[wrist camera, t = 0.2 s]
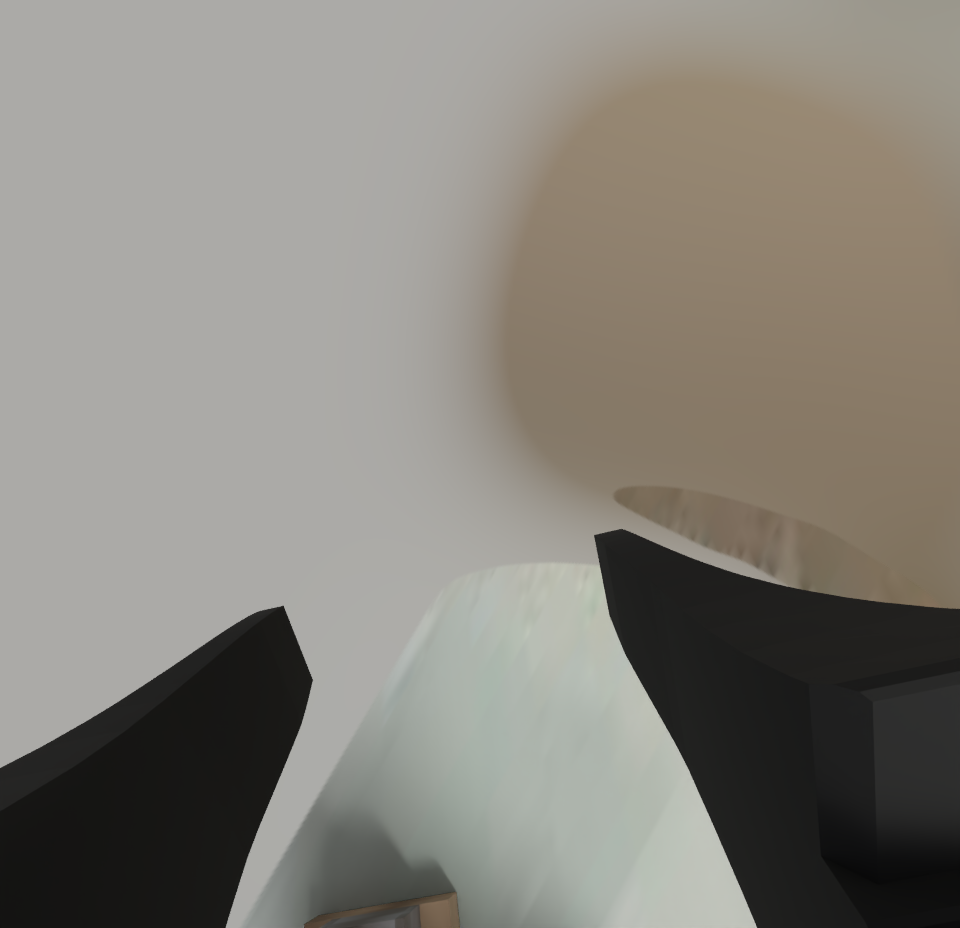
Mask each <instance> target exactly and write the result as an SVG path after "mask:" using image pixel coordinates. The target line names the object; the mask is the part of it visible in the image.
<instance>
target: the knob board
mask: <svg viewBox="0 0 960 928" xmlns="http://www.w3.org/2000/svg"><path fill="white" fill-rule="evenodd" d="M304 928H460V923H459V914H458V904H457V894H456V892H452V893H446V894H440V895H434V896H429V897H423V898H417V899H411V900H406V901H400V902H394V903H388V904H383V905H377V906H371V907H365V908H360V909H354V910H348V911H342V912H337V913H331V914H325V915H319V916H317V917H316V918H314V919H312V920H311V921H309V922H307V923H306V924H304Z"/></svg>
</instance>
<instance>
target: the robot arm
mask: <svg viewBox="0 0 960 928" xmlns="http://www.w3.org/2000/svg"><path fill="white" fill-rule="evenodd" d="M594 537H595V542H596V547H597V552H598V558H599V563H600V568H601V573H602V579H603V584H604V589H605V594H606V599H607V604H608V610H609V615H610V617H611V620H612V622H613V625H614V628H615V630H616V633H617V635H618V638H619V640H620V642H621V645H622V647H623V650H624V652H625V654H626V656H627V658H628V660H629V662H630V663H631V665H632V667H633V669H634V671H635V672H636V674H637V676H638V678H639V680H640V681H641V683H642V685H643V687H644V689H645V690H646V692H647V694H648V696H649V698H650V699H651V701H652V703H653V705H654V706H655V708H656V710H657V712H658V714H659V715H660V717H661V719H662V721H663V722H664V724H665V726H666V728H667V730H668V731H669V733H670V735H671V737H672V738H673V740H674V742H675V744H676V746H677V748H678V749H679V751H680V753H681V755H682V757H683V759H684V761H685V763H686V765H687V767H688V769H689V771H690V774H691V776H692V778H693V780H694V783H695V785H696V787H697V789H698V792H699V794H700V796H701V798H702V800H703V803H704V805H705V807H706V809H707V812H708V814H709V816H710V818H711V821H712V823H713V825H714V828H715V830H716V832H717V834H718V837H719V839H720V841H721V844H722V846H723V848H724V851H725V853H726V855H727V858H728V860H729V862H730V865H731V867H732V869H733V871H734V874H735V876H736V878H737V881H738V883H739V885H740V888H741V890H742V892H743V895H744V897H745V900H746V902H747V904H748V907H749V909H750V911H751V914H752V916H753V919H754V921H755V923H756V926H757V928H960V609H948V608H934V607H923V606H913V605H904V604H894V603H884V602H876V601H868V600H861V599H853V598H846V597H840V596H834V595H829V594H823V593H817V592H812V591H806V590H801V589H796V588H791V587H786V586H782V585H777V584H773V583H770V582H766V581H762V580H758V579H754V578H750V577H746V576H743V575H739V574H736V573H732V572H730V571H726V570H723V569H721V568H718V567H715V566H712V565H709V564H706V563H703V562H700V561H698V560H695V559H692V558H690V557H687V556H685V555H682V554H680V553H677V552H675V551H673V550H670V549H668V548H665V547H663V546H661V545H658V544H656V543H654V542H652V541H649V540H647V539H645V538H643V537H640V536H638V535H636V534H633V533H631V532H629V531H626V530H623V529H619V530H615V531H611V532H606V533H602V534H598V535H594ZM312 681H313V679H312V677H311V674H310V672H309V669H308V667H307V664H306V662H305V659H304V657H303V654H302V651H301V649H300V646H299V644H298V642H297V639H296V636H295V634H294V631H293V629H292V626H291V624H290V621H289V619H288V616H287V614H286V611H285V609H284V606H281V607H277V608H272V609H267V610H263V611H259V612H256V613H254V614H252V615H250V616H248V617H247V618H245V619H243V620H241V621H240V622H238V623H236V624H235V625H233V626H232V627H230V628H228V629H227V630H225V631H224V632H222V633H221V634H219V635H218V636H216V637H215V638H213V639H212V640H210V641H209V642H208V643H206V644H205V645H203V646H202V647H200V648H199V649H197V650H196V651H194V652H193V653H192V654H190V655H188V656H187V657H186V658H184V659H183V660H181V661H180V662H178V663H177V664H175V665H174V666H172V667H171V668H169V669H168V670H166V671H165V672H163V673H162V674H160V675H159V676H157V677H156V678H154V679H153V680H151V681H150V682H148V683H147V684H145V685H144V686H142V687H141V688H139V689H138V690H136V691H134V692H133V693H131V694H130V695H128V696H127V697H125V698H124V699H122V700H121V701H119V702H117V703H116V704H114V705H113V706H111V707H109V708H108V709H106V710H105V711H103V712H101V713H99V714H98V715H96V716H94V717H93V718H91V719H90V720H88V721H86V722H85V723H83V724H81V725H79V726H77V727H76V728H74V729H72V730H70V731H69V732H67V733H65V734H64V735H62V736H60V737H58V738H56V739H55V740H53V741H51V742H49V743H47V744H46V745H44V746H42V747H40V748H38V749H36V750H35V751H33V752H31V753H29V754H27V755H25V756H23V757H21V758H19V759H17V760H15V761H13V762H11V763H9V764H7V765H5V766H3V767H2V768H0V928H226V924H227V921H228V917H229V914H230V911H231V908H232V904H233V901H234V898H235V895H236V892H237V889H238V885H239V882H240V879H241V876H242V873H243V870H244V866H245V863H246V860H247V857H248V854H249V852H250V849H251V847H252V844H253V841H254V839H255V836H256V833H257V831H258V828H259V826H260V823H261V821H262V819H263V816H264V814H265V811H266V809H267V806H268V804H269V802H270V799H271V797H272V795H273V792H274V790H275V788H276V785H277V783H278V780H279V778H280V776H281V773H282V771H283V768H284V766H285V763H286V761H287V759H288V756H289V754H290V751H291V749H292V746H293V744H294V741H295V739H296V736H297V734H298V731H299V729H300V726H301V724H302V720H303V716H304V713H305V710H306V706H307V702H308V698H309V694H310V690H311V685H312Z"/></svg>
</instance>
